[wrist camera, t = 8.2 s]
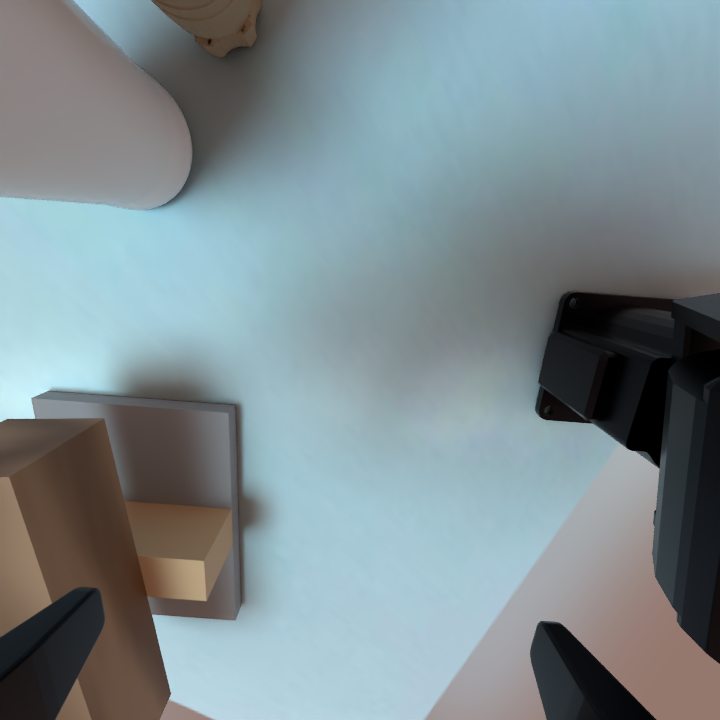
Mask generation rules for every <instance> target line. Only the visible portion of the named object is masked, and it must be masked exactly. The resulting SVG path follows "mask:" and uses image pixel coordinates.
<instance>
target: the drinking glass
mask: <svg viewBox="0 0 720 720" xmlns="http://www.w3.org/2000/svg"><path fill="white" fill-rule="evenodd" d="M191 164H192V141H191V135H190V131H189V128H188V125H187V122H186V120H185V118H184V115H183V113H182V111H181V110H180V108H179V106H178V105H177V103H176V102H175V100H174V99H173V98H172V96H171V95H170V94H169V93H168V92H167V91H166V90H165V89H164V87H163V86H161V85H160V84H159V83H158V82H157V81H156V80H155V79H154V78H152V77H151V76H150V75H149V74H148V73H146V72H145V71H144V70H143V69H142V68H140V67H139V66H138V65H137V64H136V63H135V62H134V61H133V60H132V59H131V58H130V57H129V56H128V55H127V54H126V53H125V52H124V51H123V50H122V49H121V48H120V47H119V46H118V45H117V44H116V43H115V42H114V41H113V40H112V39H111V38H110V37H109V36H108V35H107V34H106V33H105V32H104V31H103V30H102V29H101V28H100V27H99V26H98V25H97V24H96V23H95V22H94V21H93V20H92V19H91V18H90V17H89V16H88V15H87V14H86V13H85V12H84V11H83V10H82V9H81V8H80V7H79V6H78V4H77V3H76V2H75V1H74V0H0V197H5V198H19V199H34V200H47V201H61V202H74V203H87V204H99V205H108V206H113V207H118V208H123V209H130V210H147V209H153V208H156V207H159V206H161V205H163V204H165V203H167V202H169V201H170V200H171V199H173V198H174V197H175V196H176V195H177V194H178V193H179V192H180V190H181V189H182V188H183V186H184V184H185V183H186V181H187V178H188V176H189V173H190V169H191Z"/></svg>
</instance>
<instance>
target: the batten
mask: <svg viewBox="0 0 720 720" xmlns="http://www.w3.org/2000/svg"><path fill="white" fill-rule="evenodd" d="M78 587H93V588H98V589H99V590H100V591H101V595H102V600H103V606H104V612H105V623H104V627H103V629H102V632H101V634H100V636H99V637H98V639H97V641H96V643H95V645H94V647H93V649H92V651H91V653H90V655H89V657H88V659H87V660H86V662H85V664H84V666H83V668H82V670H81V672H80V674H79V676H78V678H77V680H76V682H75V683H74V685H73V687H72V689H71V691H70V693H69V695H68V697H67V699H66V701H65V703H64V705H63V706H62V708H61V710H60V712H59V714H58V716H57V718H56V719H55V720H160V717H161V715H162V713H163V711H164V708H165V706H166V704H167V701H168V699H169V697H170V695H171V692H170V688H169V684H168V680H167V676H166V672H165V668H164V663H163V659H162V655H161V651H160V647H159V643H158V639H157V634H156V630H155V626H154V622H153V618H152V614H151V610H150V605H149V601H148V597H147V593H146V589H145V585H144V581H143V576H142V572H141V568H140V564H139V560H138V556H137V552H136V547H135V543H134V539H133V535H132V531H131V527H130V523H129V518H128V514H127V510H126V506H125V502H124V498H123V494H122V489H121V485H120V481H119V477H118V473H117V469H116V465H115V460H114V456H113V452H112V448H111V444H110V440H109V436H108V431H107V427H106V423H105V419H104V418H70V419H7V420H5V421H2V422H0V637H1V636H3V635H4V634H6V633H7V632H9V631H10V630H12V629H13V628H15V627H17V626H18V625H20V624H21V623H23V622H24V621H26V620H27V619H29V618H30V617H32V616H33V615H35V614H36V613H38V612H39V611H41V610H42V609H44V608H45V607H47V606H49V605H50V604H52V603H53V602H55V601H56V600H58V599H59V598H61V597H62V596H64V595H65V594H67V593H68V592H70V591H71V590H73V589H75V588H78Z"/></svg>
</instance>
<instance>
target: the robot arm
mask: <svg viewBox="0 0 720 720" xmlns="http://www.w3.org/2000/svg"><path fill="white" fill-rule="evenodd" d="M573 298H575V299H576V303H575V305H574V306H572V307H570V304H569V303H570V301H571V299H573ZM539 384H540V385H541V386H540V390H539V394H538V399H537V403H536V408H535V411H536V413H537V414H538V415H539V416H540V417H541V418H542V419H545V420H553V421H566V422H579V423H593V424H595V425H596V426H597V427H599V428H600V429H602V430H603V431H604V432H606V433H607V434H608V435H610V436H611V437H612V438H614V439H615V440H616V441H618V442H619V443H620V444H622V445H623V446H625V447H626V448H627V449H629V450H632V451H636V452H637V453H639V454H640V455H641V456H643V457H644V458H646V459H647V460H648V461H650V462H651V463H652V464H654V465H655V466H657V467H658V468H659V469H660V472H659V483H658V494H657V506H656V510H655V511H654V521H653V524H654V526H655V528H654V540H653V551H652V555H653V563H654V571H655V577H656V579H657V581H658V583H659V584H660V586H661V588H662V590H663V591H664V593H665V595H666V597H667V598H668V600H669V602H670V603H671V605H672V607H673V608H674V609H675V611H676V612H677V622H678V623H679V625H680V627H681V628H682V629H683V630H684V631H685V632H686V633H687V634H688V635H689V636H690V637H691V638H692V639H693V640H694V641H695V642H696V643H697V644H698V645H699V646H700V647H701V648H702V649H703V650H704V651H705V652H706V653H707V654H708V655H709V656H710V657H712V658H713V659H714V660H716V661H717V662H718V663H719V664H720V293H718V294H712V295H705V296H698V297H692V298H685V299H666V298H653V297H640V296H627V295H613V294H600V293H587V292H574V291H572V292H567V293H566V294H564V295H563V296H562V297H561V300H560V303H559V307H558V312H557V316H556V320H555V325H554V329H553V333H551V334H550V335H549V337H548V341H547V346H546V350H545V355H544V359H543V363H542V368H541V372H540V377H539ZM546 407H550V409H549V411H547V412H544V409H545V408H546ZM104 623H105V612H104V606H103V600H102V595H101V591H100V590H99V589H98V588H93V587H78V588H75V589H73V590H71V591H70V592H68V593H67V594H65V595H64V596H62V597H61V598H59V599H58V600H56V601H55V602H53V603H52V604H50V605H49V606H47V607H45V608H44V609H42V610H41V611H39V612H38V613H36V614H35V615H33V616H32V617H30V618H29V619H27V620H26V621H24V622H23V623H21V624H20V625H18V626H17V627H15V628H13V629H12V630H10V631H9V632H7V633H6V634H4V635H3V636H1V637H0V720H55V719H56V718H57V716H58V714H59V712H60V710H61V708H62V706H63V705H64V703H65V701H66V699H67V697H68V695H69V693H70V691H71V689H72V687H73V685H74V683H75V682H76V680H77V678H78V676H79V674H80V672H81V670H82V668H83V666H84V664H85V662H86V660H87V659H88V657H89V655H90V653H91V651H92V649H93V647H94V645H95V643H96V641H97V639H98V637H99V636H100V634H101V632H102V629H103V627H104ZM530 657H531V663H532V667H533V671H534V674H535V678H536V682H537V685H538V689H539V693H540V697H541V700H542V704H543V708H544V711H545V715H546V719H547V720H656V719H655V718H654V717H653V716H652V715H651V714H650V713H649V712H648V711H647V710H646V709H645V708H644V707H643V706H642V704H640V702H638V701H637V699H636V698H635V697H634V696H633V695H632V694H631V693H630V692H629V691H627V689H626V688H625V687H624V686H623V685H622V684H621V683H620V682H619V681H618V680H617V679H616V678H615V677H614V676H613V675H612V674H611V673H610V672H609V671H608V670H607V669H606V668H605V667H604V666H603V665H602V664H601V663H600V662H599V661H598V660H597V659H596V658H595V657H594V656H593V655H592V654H591V653H590V652H589V651H588V650H587V649H586V648H585V647H584V646H583V645H582V644H581V643H580V642H579V641H578V640H577V639H576V638H575V637H574V636H573V635H572V634H571V632H570V631H568V629H567V628H566V627H564V626H563V625H562V624H560V623H558V622H549V621H540V622H539V623H538V625H537V628H536V631H535V635H534V638H533V642H532V646H531V650H530Z"/></svg>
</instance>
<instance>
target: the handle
mask: <svg viewBox="0 0 720 720" xmlns="http://www.w3.org/2000/svg"><path fill="white" fill-rule="evenodd" d="M152 2H153V3H154V4H155V5H157V6H158V7H159V8H160V9H161V10H162V11H163V12H164V13H165V14H166V15H167V16H169V17H170V18H171V19H172V20H173V21H174V22H176V23H177V24H178V25H180V26H181V27H182V28H183V29H185V30H186V31H188V32H189V33H191V34H193V35H194V36H195V41H196V42H197V43H198V44H199V45H200V46H201V47H202V48H204V49H205V50H206V51H208V52H209V53H210V54H212V55H214V56H217V57H224V56H226V54H227V52H229V51H230V50H232V49H234V48H236V47H241V46H247V47H251V46H252V45H253V44H254V42H255V41H256V39H257V34H256V18H257V15H258V13H259V11H261V8H262V0H152Z"/></svg>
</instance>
